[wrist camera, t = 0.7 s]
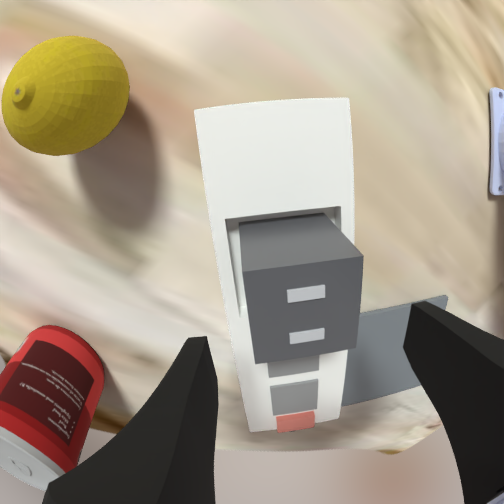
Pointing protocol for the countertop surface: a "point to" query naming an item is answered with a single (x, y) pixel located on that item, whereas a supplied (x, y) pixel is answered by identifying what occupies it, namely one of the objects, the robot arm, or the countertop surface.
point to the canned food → (47, 404)
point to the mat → (381, 355)
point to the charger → (300, 286)
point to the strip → (274, 206)
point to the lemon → (65, 95)
